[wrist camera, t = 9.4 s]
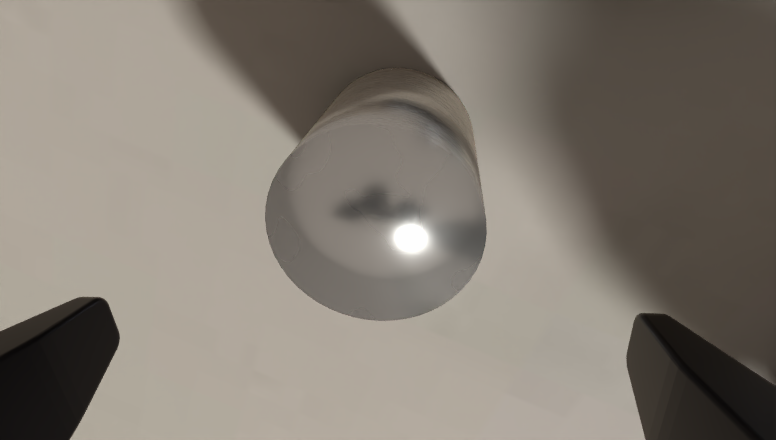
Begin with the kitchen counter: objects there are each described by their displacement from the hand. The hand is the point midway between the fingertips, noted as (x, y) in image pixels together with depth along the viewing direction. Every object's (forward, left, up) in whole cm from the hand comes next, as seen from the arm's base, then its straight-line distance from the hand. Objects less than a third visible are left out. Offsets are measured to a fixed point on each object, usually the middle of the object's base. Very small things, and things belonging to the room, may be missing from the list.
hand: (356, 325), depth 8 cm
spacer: (0, 0, -9) cm, 9 cm away
